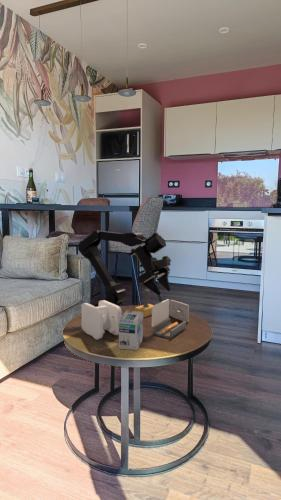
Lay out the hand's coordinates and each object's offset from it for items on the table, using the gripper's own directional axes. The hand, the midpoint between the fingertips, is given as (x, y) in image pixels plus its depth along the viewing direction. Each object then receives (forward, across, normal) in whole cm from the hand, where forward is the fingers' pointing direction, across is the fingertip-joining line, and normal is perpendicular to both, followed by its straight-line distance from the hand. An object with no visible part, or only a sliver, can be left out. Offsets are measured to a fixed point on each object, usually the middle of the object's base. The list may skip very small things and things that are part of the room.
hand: (164, 292), depth 133 cm
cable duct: (+14, 0, +6) cm, 16 cm away
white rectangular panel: (+6, 0, +5) cm, 8 cm away
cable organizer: (+2, -17, +24) cm, 30 cm away
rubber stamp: (+4, +15, +22) cm, 27 cm away
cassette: (+12, +17, +9) cm, 23 cm away
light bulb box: (+11, -20, +12) cm, 26 cm away
